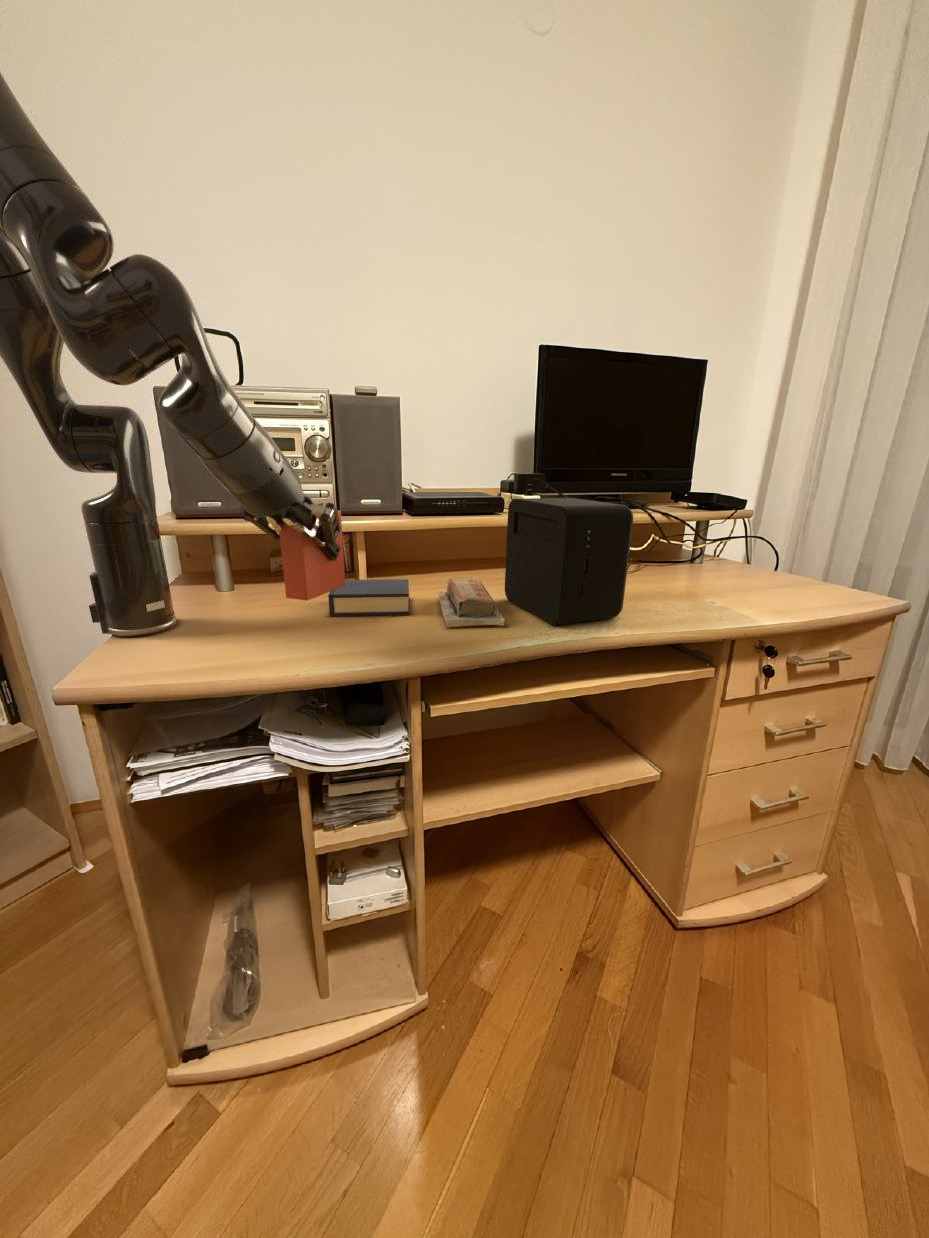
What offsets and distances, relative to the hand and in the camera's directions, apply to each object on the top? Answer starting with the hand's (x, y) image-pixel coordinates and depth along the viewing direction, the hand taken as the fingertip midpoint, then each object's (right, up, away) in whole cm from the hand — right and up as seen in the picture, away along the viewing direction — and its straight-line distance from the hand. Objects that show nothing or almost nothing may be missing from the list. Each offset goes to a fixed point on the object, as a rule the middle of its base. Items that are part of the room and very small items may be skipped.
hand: (323, 554), depth 70 cm
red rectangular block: (-1, -5, 0) cm, 5 cm away
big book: (+3, -7, +23) cm, 24 cm away
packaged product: (+21, -8, +21) cm, 31 cm away
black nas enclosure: (+39, -7, +24) cm, 46 cm away
